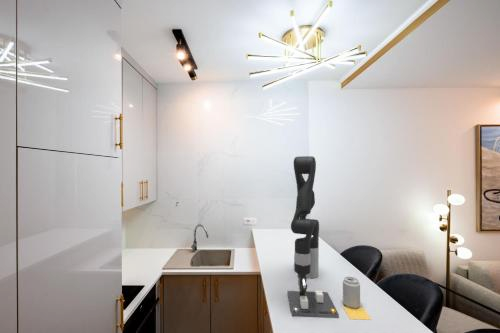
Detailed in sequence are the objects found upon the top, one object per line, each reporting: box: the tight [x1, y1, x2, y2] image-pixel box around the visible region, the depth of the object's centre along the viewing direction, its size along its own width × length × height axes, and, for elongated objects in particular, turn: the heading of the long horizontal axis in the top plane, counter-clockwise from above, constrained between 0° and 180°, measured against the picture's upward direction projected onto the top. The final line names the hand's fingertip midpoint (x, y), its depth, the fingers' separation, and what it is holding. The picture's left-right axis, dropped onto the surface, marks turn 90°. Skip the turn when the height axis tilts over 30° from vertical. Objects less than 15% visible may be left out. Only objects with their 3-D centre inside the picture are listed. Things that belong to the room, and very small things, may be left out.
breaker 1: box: [300, 296, 308, 309], centre depth 107 cm, size 4×3×4 cm
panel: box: [286, 290, 340, 319], centre depth 111 cm, size 18×20×3 cm
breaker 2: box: [314, 290, 323, 303], centre depth 112 cm, size 4×3×4 cm
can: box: [342, 276, 361, 308], centre depth 111 cm, size 8×8×12 cm
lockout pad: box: [342, 305, 372, 321], centre depth 105 cm, size 9×9×1 cm
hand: (302, 298), depth 111 cm, fingers closed
